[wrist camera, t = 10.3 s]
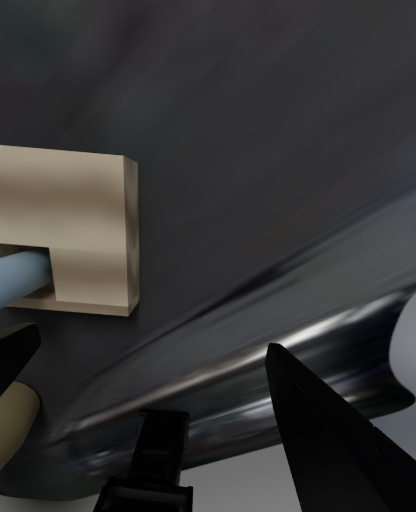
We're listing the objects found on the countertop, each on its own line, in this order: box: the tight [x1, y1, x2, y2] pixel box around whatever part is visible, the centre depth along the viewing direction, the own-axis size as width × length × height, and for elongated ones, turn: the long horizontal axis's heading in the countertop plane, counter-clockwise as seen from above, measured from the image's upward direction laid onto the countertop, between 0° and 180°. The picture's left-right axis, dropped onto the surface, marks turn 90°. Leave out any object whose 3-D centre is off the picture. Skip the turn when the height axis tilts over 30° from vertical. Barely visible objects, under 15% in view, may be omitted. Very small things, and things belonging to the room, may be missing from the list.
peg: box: [0, 247, 54, 309], centre depth 16 cm, size 4×4×8 cm
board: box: [0, 145, 140, 316], centre depth 18 cm, size 14×14×3 cm
